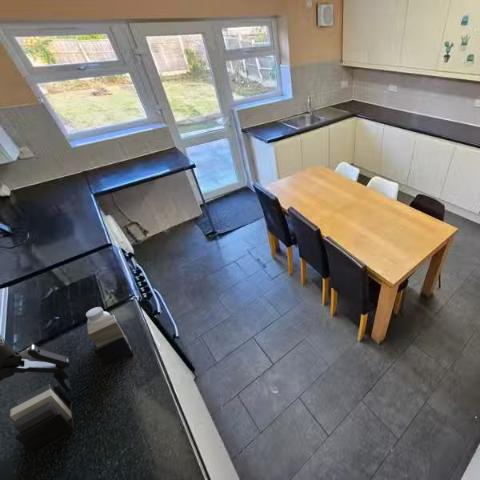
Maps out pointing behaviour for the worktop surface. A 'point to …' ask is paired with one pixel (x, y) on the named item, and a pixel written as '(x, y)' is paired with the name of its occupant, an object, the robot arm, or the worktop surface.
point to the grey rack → (43, 421)
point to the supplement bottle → (96, 315)
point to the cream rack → (109, 340)
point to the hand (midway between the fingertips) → (34, 405)
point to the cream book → (40, 405)
